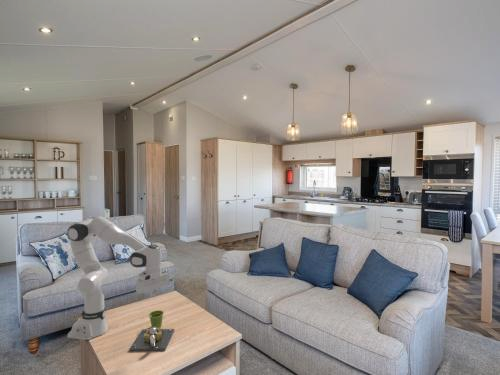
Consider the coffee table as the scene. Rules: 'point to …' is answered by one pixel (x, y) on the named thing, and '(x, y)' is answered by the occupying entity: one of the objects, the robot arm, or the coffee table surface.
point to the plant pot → (156, 318)
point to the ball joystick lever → (152, 337)
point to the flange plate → (159, 345)
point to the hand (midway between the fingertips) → (153, 296)
